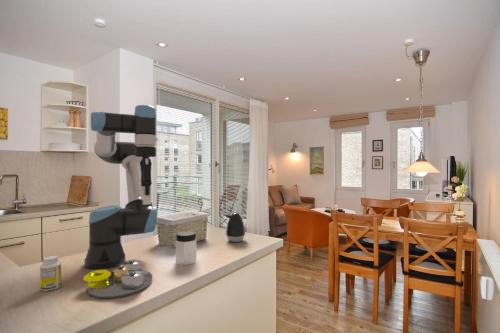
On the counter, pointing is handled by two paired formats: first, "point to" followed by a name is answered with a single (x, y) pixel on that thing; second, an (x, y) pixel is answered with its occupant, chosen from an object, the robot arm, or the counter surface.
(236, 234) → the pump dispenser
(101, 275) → the gear
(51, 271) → the supplement bottle
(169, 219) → the storage basket
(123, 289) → the carrier
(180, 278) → the counter surface
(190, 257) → the jar
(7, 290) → the counter surface
